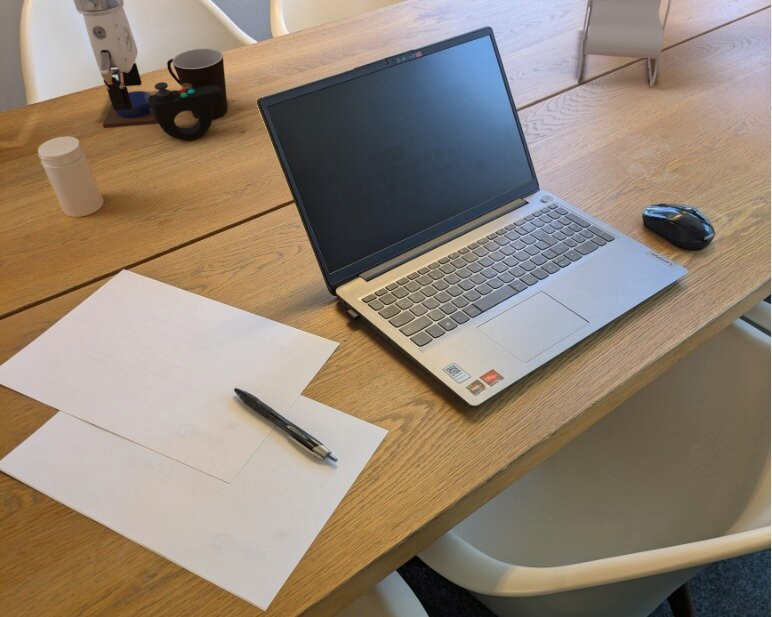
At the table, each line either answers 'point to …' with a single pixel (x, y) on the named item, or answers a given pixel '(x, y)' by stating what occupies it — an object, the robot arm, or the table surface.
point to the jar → (71, 176)
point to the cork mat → (126, 119)
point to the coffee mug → (201, 73)
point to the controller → (185, 108)
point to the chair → (624, 30)
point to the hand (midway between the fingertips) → (128, 96)
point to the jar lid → (137, 105)
